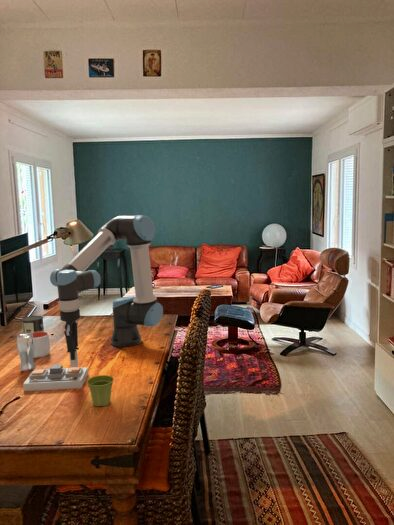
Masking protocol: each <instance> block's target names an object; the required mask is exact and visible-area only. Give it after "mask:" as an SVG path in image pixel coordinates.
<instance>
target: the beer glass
mask: <svg viewBox="0 0 394 525" xmlns="http://www.w3.org/2000/svg"><path fill="white" fill-rule="evenodd" d="M16 346H17V353H18V356H19V359H20V371H22V372H28V371H32V370H35V368H36V364H35V360H34V359H35V358H34V338H33V334H31V333H25V334H23V333H21V334H18V335H16Z"/></svg>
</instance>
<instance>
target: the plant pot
mask: <svg viewBox="0 0 394 525" xmlns="http://www.w3.org/2000/svg"><path fill="white" fill-rule="evenodd" d="M114 381H115V378H114V377H113V376H111V375H105V374H100V375H95V376H92V377H89V378H88V379H87V381H86V384H87V386H88V388H89V391H90V397H91V401H92V405H93V406H94V407H105V406H108V405H109V404H110V403H111V400H112V399H111V398H112V389H113V388H112V386H113V382H114Z"/></svg>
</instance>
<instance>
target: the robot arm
mask: <svg viewBox="0 0 394 525" xmlns="http://www.w3.org/2000/svg"><path fill="white" fill-rule="evenodd" d="M155 234H156V226H155V223H154V221H153V219H151V218H150V217H149V216H148V215H142V214H134V215H133V214H131V215H129V214H127V215H122V214H121V215H118V216H115V217H113V218H111V219H110V220H108V221H107V222H106V223H104V224H103V225H102V226H101V227H100V228H98V230H97V233H96V235H95V236H94V237H93V238H92V239H91V240H90V241H88V243H87V244H85V246H83V248H82V249H81V250H80V251H78V252H77V253H76V254H75V256H73V257H72V258H71V259H70V260H69V261H68V262H67V263H66V264H65V265H64V266H62V268H57V269H56V268H55V269H53V270H52V271H51V273H50V276H49V280H50V284H51V285H52V286H54V287H56V288H57V295H58V296H57V297H58V301H57V304H58V305H59V306H58V307H59V310H60V311H59V318H60V320H61V322H65V324H64V333H63V334H64V336H65V342H66V348H67V349H66V353H69V364H70V365H69V366H70V368H77V367H79V359H78V357H79V356H78V350H79V349H80V347H78V346H79V344H78V342H79V341H78V340H79V339H78V322H77V321H78V320H79V319H80V318H81V313H80V312H81V311H80V298H79V297H80V296H79V293H81V292H84V291H88V290H89V291H90V290H93V289H96V288H98V287H99V286H100V284H101V282H102V281H101V274H100V273H99V272H98V271H97V270H95V269H90V270H89V269H88V268H89V267H90V266H91V265H92V264H93V263H94V262H95V261H96V260H97V258H99V256H100V255H102V254H103V252H104V251H106V250H107V248H108V247H109V246H112V245H114V244H115V243H117V242H118V241H122V240H123V241H125V243H126V246H127V247H128V248H129V250H130V257H131V267H132V277H133V285H134V294H135V296H130V295H129V296H124V297H119V298H118V297H117V298H116V299H113V300H112V316H113V318H112V320H113V329H112V330H113V331H112V335H111V339H110V340H111V345H112V346H114V347H119V348H121V347H122V348H126V347H133V346H137V345H139V344H140V343H142V336H141V333H140V330H139V328H138V326H142V327H143V326H144V327H151V328H152V327H155V326H157V325H159V323H160V322H161V320H162V318H163V315H164V309H163V308H164V307H163V305H162V304H161V303H160V302H158V298H157V296H156V295H154V289H153V288H154V287H153V277H152V268H151V259H150V249H149V246H150V245H151V244H152V240H153V239H154V237H155ZM87 269H88V270H87Z"/></svg>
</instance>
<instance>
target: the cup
mask: <svg viewBox="0 0 394 525" xmlns="http://www.w3.org/2000/svg"><path fill="white" fill-rule="evenodd" d="M31 334H33V338H34V359H39V358H44V357H46V356H49V354H50V352H51V345H50V344H51V343H50V334H49V332H47V331H44V332H35V333H31Z"/></svg>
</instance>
